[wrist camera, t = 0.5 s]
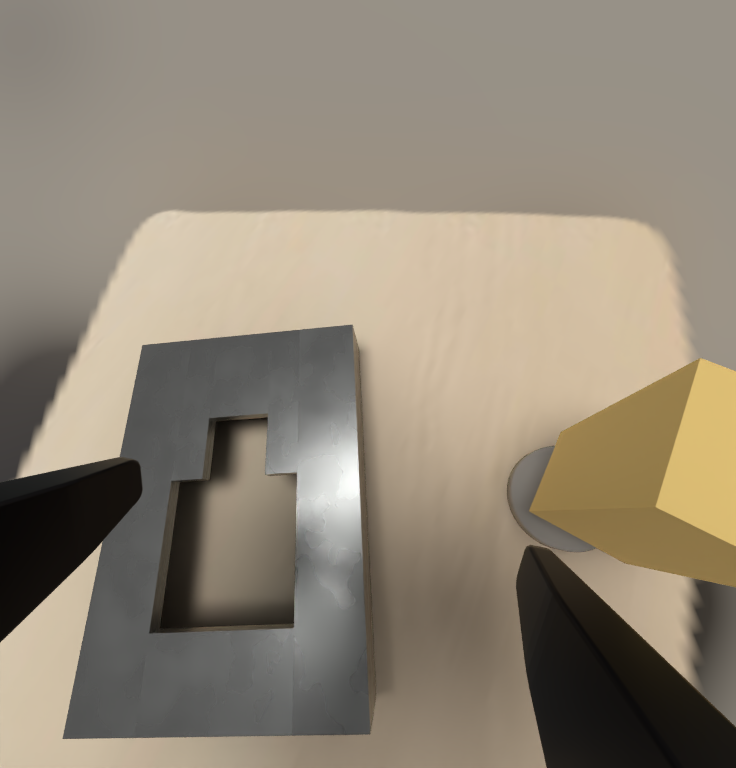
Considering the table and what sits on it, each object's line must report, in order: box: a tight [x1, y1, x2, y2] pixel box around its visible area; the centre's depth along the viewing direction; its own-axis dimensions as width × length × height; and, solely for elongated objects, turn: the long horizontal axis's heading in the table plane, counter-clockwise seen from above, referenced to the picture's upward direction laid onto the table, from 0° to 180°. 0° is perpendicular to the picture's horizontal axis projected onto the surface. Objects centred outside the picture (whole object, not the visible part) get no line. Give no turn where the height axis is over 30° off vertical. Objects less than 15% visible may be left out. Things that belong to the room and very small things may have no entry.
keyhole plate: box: [63, 325, 376, 739], centre depth 20 cm, size 20×14×3 cm
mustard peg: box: [507, 358, 736, 587], centre depth 14 cm, size 6×6×13 cm
